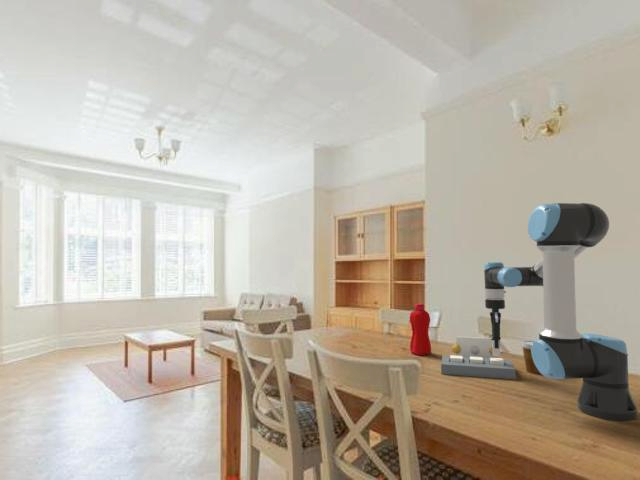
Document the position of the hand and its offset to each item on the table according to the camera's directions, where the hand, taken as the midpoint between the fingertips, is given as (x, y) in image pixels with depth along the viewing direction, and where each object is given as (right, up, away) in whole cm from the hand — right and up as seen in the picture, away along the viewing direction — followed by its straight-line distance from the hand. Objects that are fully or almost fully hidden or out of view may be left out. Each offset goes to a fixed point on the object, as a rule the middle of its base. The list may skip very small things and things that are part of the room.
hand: (496, 355), depth 168 cm
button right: (0, -5, 0) cm, 5 cm away
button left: (-15, -5, +5) cm, 17 cm away
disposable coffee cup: (+16, -7, 0) cm, 18 cm away
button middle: (-8, -5, +2) cm, 9 cm away
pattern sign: (-2, -8, +18) cm, 20 cm away
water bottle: (-24, -9, +35) cm, 43 cm away
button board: (-7, -7, +2) cm, 11 cm away
